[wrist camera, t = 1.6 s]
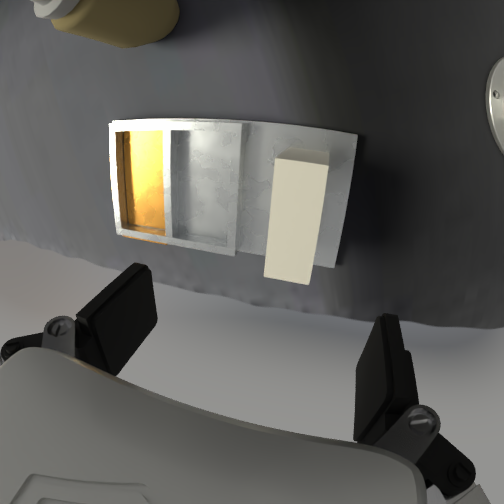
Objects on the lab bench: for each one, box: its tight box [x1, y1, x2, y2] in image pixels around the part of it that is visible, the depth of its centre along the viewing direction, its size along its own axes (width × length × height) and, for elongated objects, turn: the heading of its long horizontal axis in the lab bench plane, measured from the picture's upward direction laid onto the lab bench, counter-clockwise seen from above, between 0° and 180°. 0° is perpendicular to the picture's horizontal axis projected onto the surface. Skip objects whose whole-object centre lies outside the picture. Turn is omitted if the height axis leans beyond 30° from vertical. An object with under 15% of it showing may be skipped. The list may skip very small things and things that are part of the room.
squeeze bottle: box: [31, 0, 180, 48], centre depth 14 cm, size 8×8×18 cm
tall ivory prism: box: [264, 147, 329, 285], centre depth 23 cm, size 4×9×7 cm, turn 176°
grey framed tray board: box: [109, 118, 358, 268], centre depth 28 cm, size 25×13×2 cm, turn 86°
